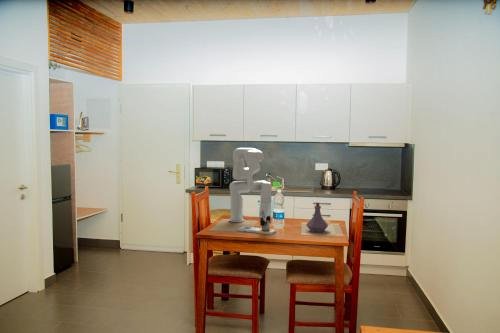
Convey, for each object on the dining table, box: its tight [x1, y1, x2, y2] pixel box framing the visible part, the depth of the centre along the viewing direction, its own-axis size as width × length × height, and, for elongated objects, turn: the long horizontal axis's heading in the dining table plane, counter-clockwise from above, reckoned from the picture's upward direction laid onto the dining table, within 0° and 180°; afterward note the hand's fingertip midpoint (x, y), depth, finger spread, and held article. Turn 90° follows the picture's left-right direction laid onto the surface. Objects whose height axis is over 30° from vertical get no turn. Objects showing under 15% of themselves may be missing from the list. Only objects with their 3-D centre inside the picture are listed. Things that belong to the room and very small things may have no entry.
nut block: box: [261, 220, 270, 231], centre depth 275 cm, size 4×4×8 cm
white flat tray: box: [236, 225, 277, 236], centre depth 278 cm, size 9×26×2 cm, turn 64°
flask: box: [305, 202, 329, 233], centre depth 282 cm, size 16×16×20 cm
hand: (265, 224), depth 275 cm, fingers open, 9 cm apart
